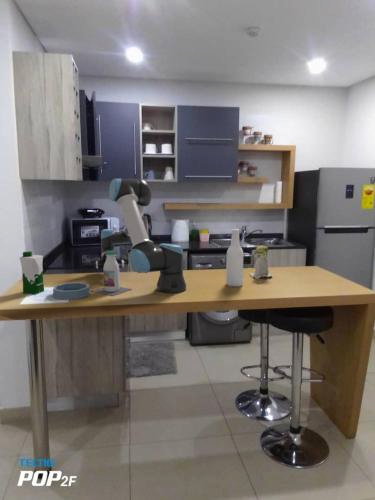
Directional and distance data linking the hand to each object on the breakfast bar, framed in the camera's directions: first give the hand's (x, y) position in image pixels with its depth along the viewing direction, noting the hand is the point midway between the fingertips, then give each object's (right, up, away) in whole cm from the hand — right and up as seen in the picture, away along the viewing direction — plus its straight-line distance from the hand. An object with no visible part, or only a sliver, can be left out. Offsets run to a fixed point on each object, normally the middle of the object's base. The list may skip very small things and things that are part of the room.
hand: (110, 265), depth 188 cm
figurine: (+84, -8, +24) cm, 88 cm away
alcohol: (+66, -11, +5) cm, 67 cm away
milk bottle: (+2, -12, -8) cm, 15 cm away
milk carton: (-36, -13, -11) cm, 39 cm away
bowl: (-16, -13, -14) cm, 25 cm away
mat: (+2, -12, -8) cm, 15 cm away
